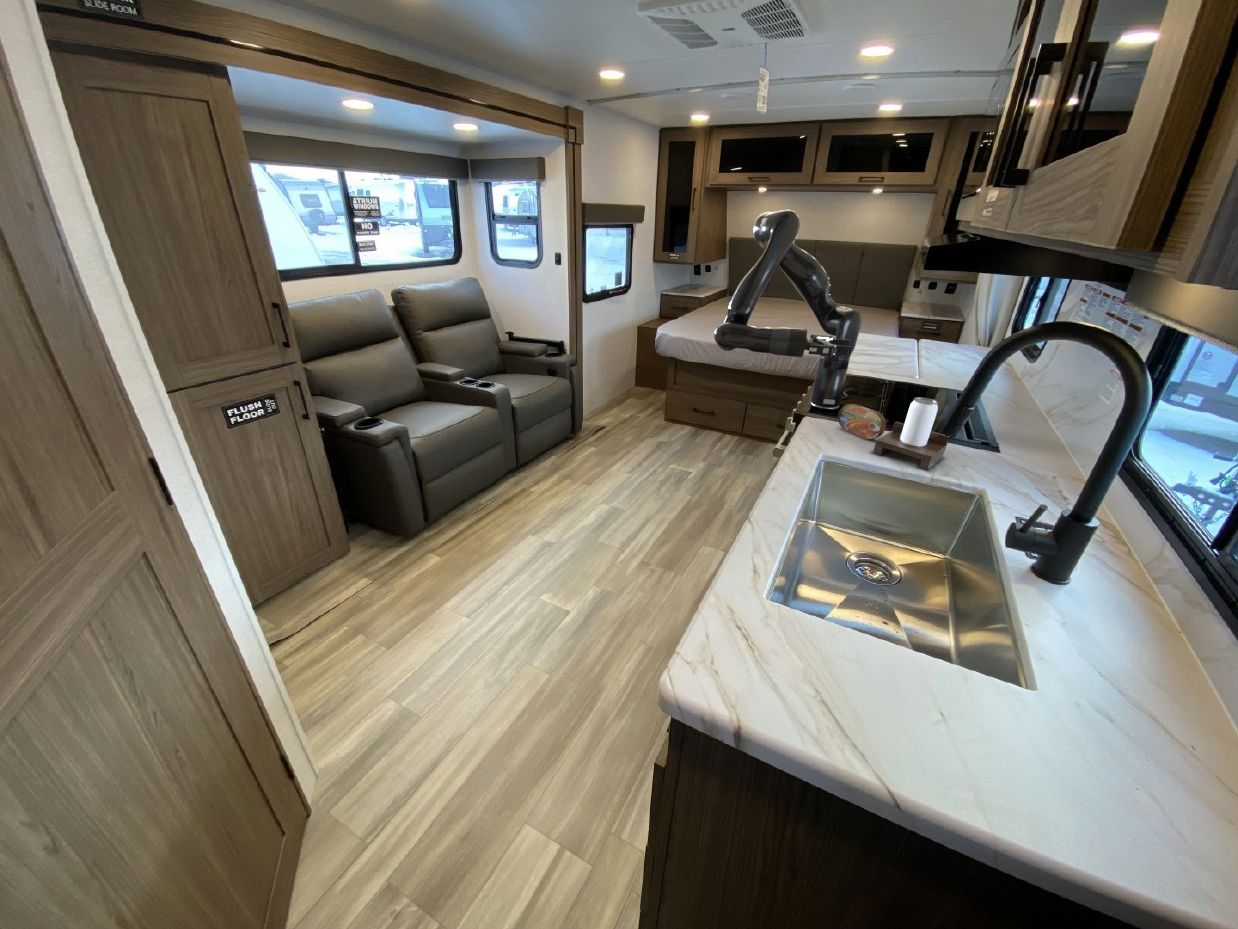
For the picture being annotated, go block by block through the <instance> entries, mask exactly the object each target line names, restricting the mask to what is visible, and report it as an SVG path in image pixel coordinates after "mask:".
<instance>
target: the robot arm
mask: <svg viewBox="0 0 1238 929" xmlns="http://www.w3.org/2000/svg"><path fill="white" fill-rule="evenodd" d="M800 223H801V222H800V218H799V216H798V214H797V213H796V212H795V211H793V210H792V209H791V210H790V209H778V210H770V211H766V212H763V213H761V214H759V215H758V216H757V217H756V219H755V221H754V223H753V235H754V238H755V241H756V242H757V245H759V246H760V248H761V249H762V250H764V251H763V253H762V255H761V256H760V257H759V259H758V260H757V261H756V263H755V264H754V266H752V267H751V269H749V271H748V272H747V273H746V274H745V275H744V277H743V278H742V279H741V280H740V281H739V283H738V285H737V287H736V288H735V291H734V293H733V295H732V298H731V300H730V302H729V304H728V307H727V313H726V317H725V319H724V321H723V323H721V324H719V325H718V326H717V327H716V329H715V330H714V335H713V337H714V341H715V343H716V345H717V346H718V348H720V349H721V350H723V351H726V352H731V351H733V350H735V349H741V350H747V351H748V350H749V351H750V352H754V353H760V354H770V355H776V356H781V357H782V356H784V357H793V358H803V356H804V353H805V351H808V353H807V354H809V355H815V356H819V361H818V365H817V371H816V377H815V381H814V385H813V391H812V395H811V400H810V406H811V407H813V408H815V409H818V410H824V411H836V410H838V409H840V403H841V400H845V399H847V398H848V397H849V395H848V393H847V392H850V391H852V392H853V393H855V392H856V389H854V388H847V389H845V390H844V386H845V382H846V378H847V375H848V374H847V373H848V368H849V365H850V359H851V356H852V354H853V352H854V351H855V348H856V345H857V342H858V338H859V336H860V332H861V328H862V323H863V322H862V321H863V317H862V313H861V312H860V311H859V310H858V309H855V308H850V307H845V306H840V305H839V304H837V303H836V301H835V300H834V299H833V298H832V296H831V294H830V288H831V281H830V276H829V275H828V273H827V271H826V270H825V269H824V266H822V264H821V263H820V262H819V261H818V260H817V259H816V258H815V257H814V256H813V255H811V254H810V253H808V252H807V251H805V250H804V249H802V248H801V247H799V246H798V245H796V243H794V242H795V240H796V238H797V236H798V234H799V231H800V225H801V224H800ZM778 267H779V268H780V270H781V271H782V272H783V274H784V275H785V276H786V278H787V279H788V280H789V282H790V284H792V286H793V288H794V289H795V290H796V291H797V293H798V294H799V296H801V298H802V299H803V301H804V302H805V303H806V305H807V306H808V307H809V308H810V310H811V311H812V312H813V314H814V316H815V319H816V321H817V322H818V324H819V325H820V327H821V329H822V330H823V332H825V333H826V334H827V335H820V334H810V335H809V337H808V329H806V328H795V327H771V326H770V327H769V326H753V325H748V324H749V321H750V318H751V317H752V314H753V313H754V311H755V309H756V306H757V304H758V302H759V300H760V297H761V295H762V293H763V292H764V289H765V288H766V287H767V284H768V282H769V281H770V279H771V278H772V276H773V274H774V273H775V271H776V270H777V268H778ZM842 395H844V396H842Z"/></svg>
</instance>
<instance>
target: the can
mask: <svg viewBox="0 0 1238 929" xmlns="http://www.w3.org/2000/svg"><path fill="white" fill-rule="evenodd" d="M938 404H939V402H938V401H937V400H936V399H933V398H928V397H920V396H919V397H914V398H913V401H912V402H910V405H909V408H908V411H907V414H906V417H905V421H904V423H903V424H904V427H903V430H902V434H901V437H900V440H901V441H902V442H903V443H904V444H907V445H910V446H915V447H922V446H925V445H926V444H927V441H928V438H929V435H930V432H931V431H932V429H933V426H934V423H935V420H936V417H937V413H938V410H939V407H938Z"/></svg>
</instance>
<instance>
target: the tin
mask: <svg viewBox="0 0 1238 929" xmlns="http://www.w3.org/2000/svg"><path fill="white" fill-rule="evenodd" d="M837 423H838V425H839V427H840V428H841V429H842V430H843V431H845V432H848V433H850V434H853V435H856V436H858V437H860V438H863V439H865V440H873V439H878V438H880V437H882V436H883V434H884V433H885V431H886V428H887V422H886V418H885V416H884V415H883V414H882V413H881V412H880V411H876V410H874V409H871V408H868V407H865V406H862V405H859V404H856V403H854V404H852V403H849V404H845V405H843V406H842V407H841V408H839V411H838V413H837Z"/></svg>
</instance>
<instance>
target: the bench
mask: <svg viewBox="0 0 1238 929" xmlns="http://www.w3.org/2000/svg"><path fill="white" fill-rule="evenodd" d="M904 424H905V423H903V422H899V421H894V423H893V426H892V430H891V431H889V432H887V433H886V434H884V435H881V436H880V437H878V438H877V439H876V441H875V445H874V447H873V451H872V454H875V455H877V456H882V455H883V454H885V453H886V452H888V451H889V450H890V451H893V452H897V453H900V454H903V455H907V456H909V457H913V458H917V459H920V460H921V461H920V464H919V467H918V468H919V469H921V470H925V471H929V470H930V469H931V468H932V467H934V465H936V464H937V463H938V462H939V461H941V460H942V459H943V457H944V454H945V452H946V449H947V446H948V443H949V440H950V437H951V436H950V435H948V436H945V435H946V434H944V433H939V432H936V431H934V430H931V432H930V435H929V438H928V441H927V444H926V445H925V446H922V447H915V446H910V445H907V444H904V443H903V442H902V441H901V440H900V437H901V434H902V430H903V427H904Z"/></svg>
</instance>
